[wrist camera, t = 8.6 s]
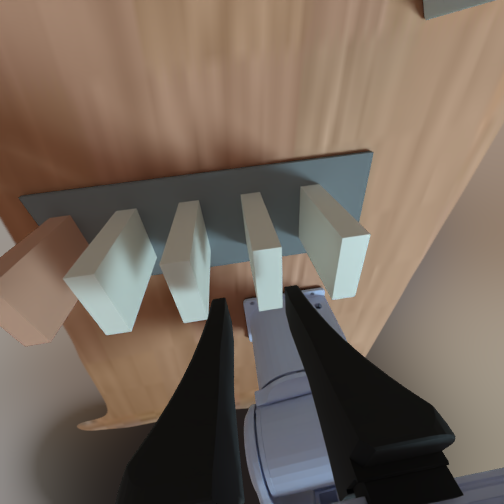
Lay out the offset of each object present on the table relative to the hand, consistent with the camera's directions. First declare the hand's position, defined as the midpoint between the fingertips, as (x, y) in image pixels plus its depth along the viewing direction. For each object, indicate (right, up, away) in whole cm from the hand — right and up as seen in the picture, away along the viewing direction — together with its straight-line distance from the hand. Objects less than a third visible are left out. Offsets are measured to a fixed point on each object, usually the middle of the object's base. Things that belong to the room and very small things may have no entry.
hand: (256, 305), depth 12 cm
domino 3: (0, +6, +8) cm, 10 cm away
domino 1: (-10, +4, +8) cm, 13 cm away
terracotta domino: (-15, +4, +8) cm, 17 cm away
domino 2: (-5, +5, +8) cm, 11 cm away
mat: (-4, +5, +9) cm, 11 cm away
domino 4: (+5, +6, +9) cm, 12 cm away
